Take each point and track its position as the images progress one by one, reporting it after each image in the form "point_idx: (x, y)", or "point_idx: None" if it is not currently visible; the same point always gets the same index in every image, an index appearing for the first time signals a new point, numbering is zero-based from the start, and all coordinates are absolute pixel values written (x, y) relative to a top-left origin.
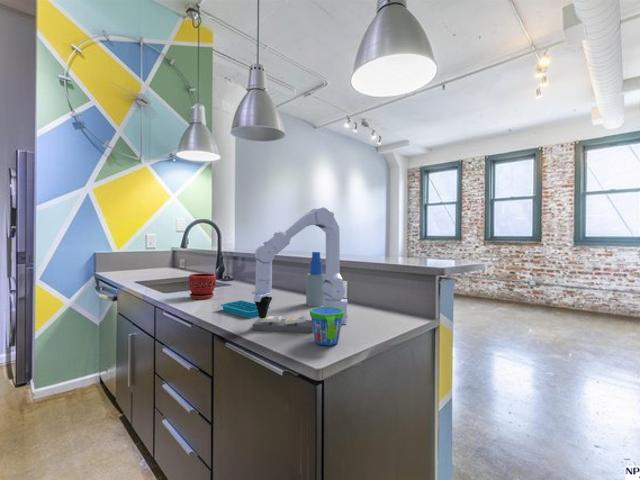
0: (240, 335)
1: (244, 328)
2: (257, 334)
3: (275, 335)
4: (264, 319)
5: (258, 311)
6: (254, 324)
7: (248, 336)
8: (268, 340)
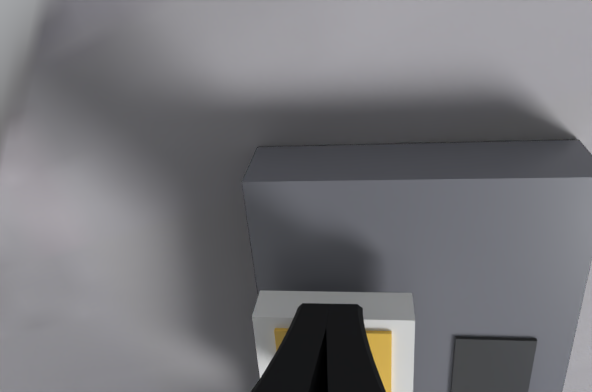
0: (22, 80)
1: (295, 13)
2: (131, 245)
3: (167, 387)
4: (261, 370)
5: (260, 383)
6: (245, 207)
7: (36, 179)
8: (31, 363)
